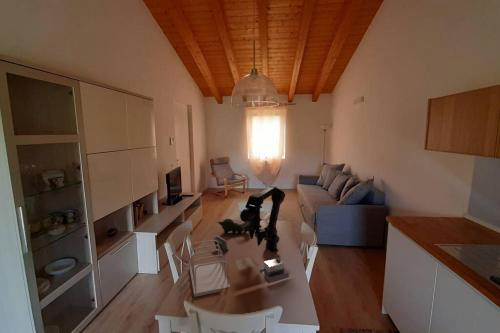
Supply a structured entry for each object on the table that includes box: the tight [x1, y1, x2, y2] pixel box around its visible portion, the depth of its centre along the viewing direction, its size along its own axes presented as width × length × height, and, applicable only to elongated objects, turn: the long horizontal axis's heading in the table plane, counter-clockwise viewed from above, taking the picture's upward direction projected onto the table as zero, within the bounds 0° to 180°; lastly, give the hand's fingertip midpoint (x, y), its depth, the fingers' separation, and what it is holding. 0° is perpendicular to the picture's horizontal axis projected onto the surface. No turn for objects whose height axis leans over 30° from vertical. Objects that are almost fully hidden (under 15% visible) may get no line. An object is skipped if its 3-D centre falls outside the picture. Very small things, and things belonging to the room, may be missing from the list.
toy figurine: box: [217, 210, 247, 235], centre depth 183 cm, size 9×19×25 cm
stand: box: [232, 256, 259, 271], centre depth 140 cm, size 12×10×2 cm
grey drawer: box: [263, 257, 285, 278], centre depth 130 cm, size 6×9×7 cm, turn 115°
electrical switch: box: [213, 235, 230, 253], centre depth 156 cm, size 9×5×9 cm, turn 44°
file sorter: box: [189, 239, 231, 298], centre depth 127 cm, size 25×17×16 cm
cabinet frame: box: [259, 267, 290, 284], centre depth 131 cm, size 12×10×2 cm
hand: (255, 242), depth 143 cm, fingers open, 9 cm apart
